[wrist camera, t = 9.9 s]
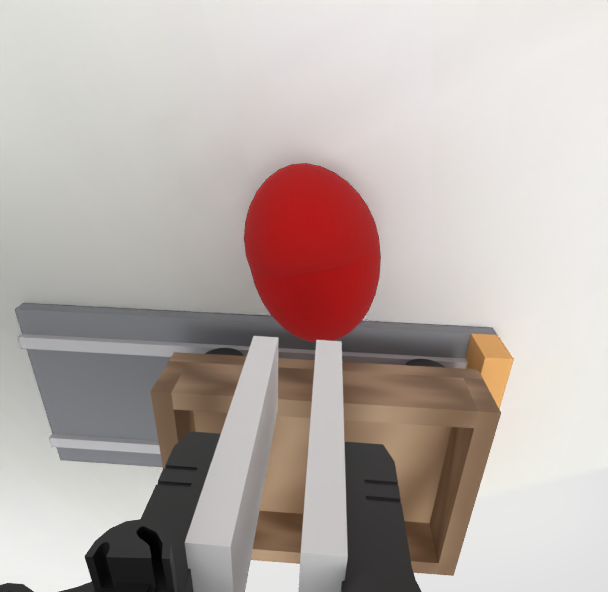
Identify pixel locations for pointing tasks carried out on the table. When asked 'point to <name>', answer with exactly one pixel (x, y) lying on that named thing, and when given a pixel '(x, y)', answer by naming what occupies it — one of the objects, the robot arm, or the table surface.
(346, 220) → the light bulb
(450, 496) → the tray
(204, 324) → the track
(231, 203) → the table surface
